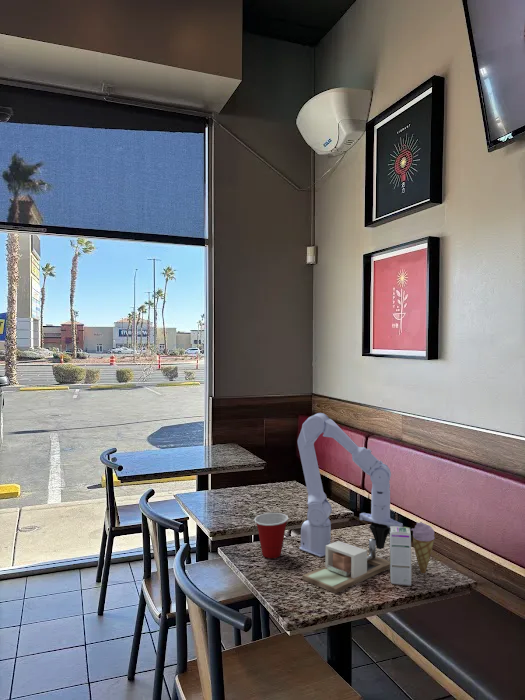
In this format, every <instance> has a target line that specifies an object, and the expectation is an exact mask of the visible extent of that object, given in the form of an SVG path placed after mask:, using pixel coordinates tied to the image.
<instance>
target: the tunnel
mask: <svg viewBox="0 0 525 700" xmlns="http://www.w3.org/2000/svg"><path fill="white" fill-rule="evenodd" d="M336 552H338V553H341V554H344V555H347V556H350V557H351V578H356V577H359V576H361V575H363V574H365V573H367V554H368V550H367V549H365V548H362V547H358V546H355V545H353V544H350V543H346V542H343V541H340V540H337V541H334V542H331V544H328V545H326V548H325V558H324V559H325V562H324V563H325V565H324V566H325V568H327V565H333V554H334V553H336Z"/></svg>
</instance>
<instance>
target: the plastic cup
mask: <svg viewBox="0 0 525 700" xmlns="http://www.w3.org/2000/svg"><path fill="white" fill-rule="evenodd" d="M288 520H289V516H288V514H284V513H282V512H267V513H266V512H265V513H261V514H259V515H257V516H255V517H254V519H253V521H254V522H255V524H256V528H257V531H258V532H257V533H258V537H259V542H260V543H259V544H260V548H261V554H262V556H263V557H265V558H266V559H277V558H279V557H281V554H282V551H283V545H284V540H285V534H286V527H287V524H288V523H287V522H288Z"/></svg>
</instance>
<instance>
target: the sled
mask: <svg viewBox="0 0 525 700" xmlns="http://www.w3.org/2000/svg"><path fill="white" fill-rule="evenodd" d="M376 553H377V547H376V539H374V537H371V538H369V539H368V554H369V556H367V561H368V560H370V559H372V558H376V557H377V556H376ZM327 569H328V570H330V571H333V572H336V573H338V574H341V575H343V576H348V575H350V574H351V569H350V570H347V571H344V570H341V569H339V568H336V567H333V565H327Z"/></svg>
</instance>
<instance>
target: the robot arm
mask: <svg viewBox="0 0 525 700" xmlns="http://www.w3.org/2000/svg"><path fill="white" fill-rule="evenodd" d="M320 435H322V437H325V438H332V439H334V441H336V442H337V443H338V444H339V445H340V446H342V447H343V449H345V450H346V451H347V452H348V453H349V454H351V458H352V462H353V463H355V465H357V467H359V468H360V469H361V470H362V471H363V472H364V473H365V474H366V475H368V476H370V477H369V479H370V482H371V506H370V508H371V510H370V511H371V512H370V513H366V512H361V513H359V520H360V521H365V522H369V523H371V524H369V526H368V528H369V530H370V532H371V533H372V536H373V539H376V549H378V550H382V549H384V548H385V544H386V539H387V537H388V535H389V534H390V526H403V527H404V525H403V523H402V522H399V521H397V520H395V519H393V518H391V484H390V483H391V482H390V481H391V477H392V471H391V469H390V468H389V466H388V464H386V463H384V462H383V461H382V460H380V459H378V458H377V457H376V456H375V455H374V454H372V450H371V449H370V448H366V447H361V446H359V445H357V444H356V443H355V442H354V441H353V440H352V438H351V437H350V436H349V435H348V434H347V433H346V432H345V431H344V430H343V429H342V428H341V427H340V426H339V425H338V424H337V423H336V422H335V421H334V420H333V419H332V418H329V416H328V415H327V414H325V413H323V412H318V413H317V412H316V413H315V414H313V415H311V416H309V417H308V418H307V419H306V420H305V421H304V422H303V423H302V425H301V429H300V433H299V435H298V437H297V448H298V451H299V456H300V457H299V458H300V462H301V466H302V467H301V468H302V471H303V472H302V473H303V476H304V481H305V486H306V490H307V495H308V496H307V513H306V516H307V517H306V518H307V519H305V520H304V522H302V524H301V527H300V546H299V547H298V549H299V550H301V551H304V552H305V553H309V554H311V555H314V556H316V557H321V558H322V557H324V556H325V548H326V545H328V544H331V543H332V542H331V538H332V537H331V534H332V533H331V532H332V529H331V527H332V526H331V525H332V522H331V520H330V518H329V517H330V516H331V514H332V511H333V509H332V505H331V503H330V502H329V500H328V498H327V494H326V493H325V492H324V486H323V483H322V482H323V481H322V479H321V473H320V468H319V465H318V464H319V463H318V460H317V459H318V458H317V454H316V449H315V442H316V441H317V439H318V438H319V437H320Z"/></svg>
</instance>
